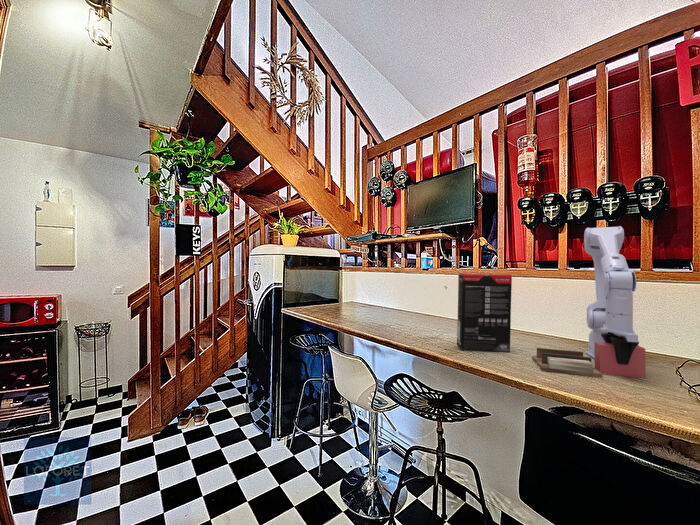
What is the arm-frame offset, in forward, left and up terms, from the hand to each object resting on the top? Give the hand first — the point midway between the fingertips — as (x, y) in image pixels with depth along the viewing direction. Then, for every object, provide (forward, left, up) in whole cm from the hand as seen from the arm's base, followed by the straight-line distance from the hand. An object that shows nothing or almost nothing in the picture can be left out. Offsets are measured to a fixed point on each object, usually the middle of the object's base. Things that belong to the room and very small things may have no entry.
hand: (618, 361), depth 83 cm
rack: (0, -13, -3) cm, 13 cm away
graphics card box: (-12, -34, -3) cm, 36 cm away
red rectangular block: (0, 0, -3) cm, 3 cm away
